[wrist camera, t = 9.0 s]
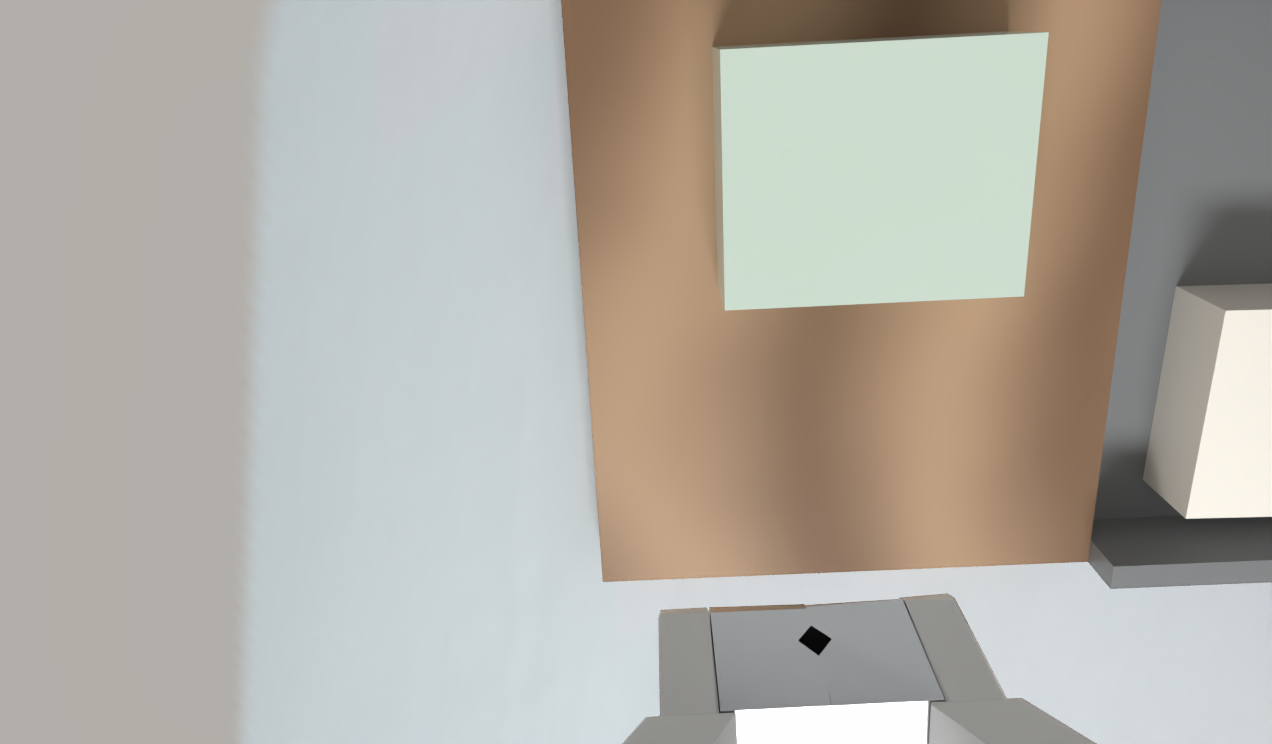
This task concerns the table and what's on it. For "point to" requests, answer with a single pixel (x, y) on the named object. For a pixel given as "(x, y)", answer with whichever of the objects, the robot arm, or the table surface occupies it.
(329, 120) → the table surface
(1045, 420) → the board
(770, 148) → the tile sage
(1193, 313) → the tile cream
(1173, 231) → the tray
